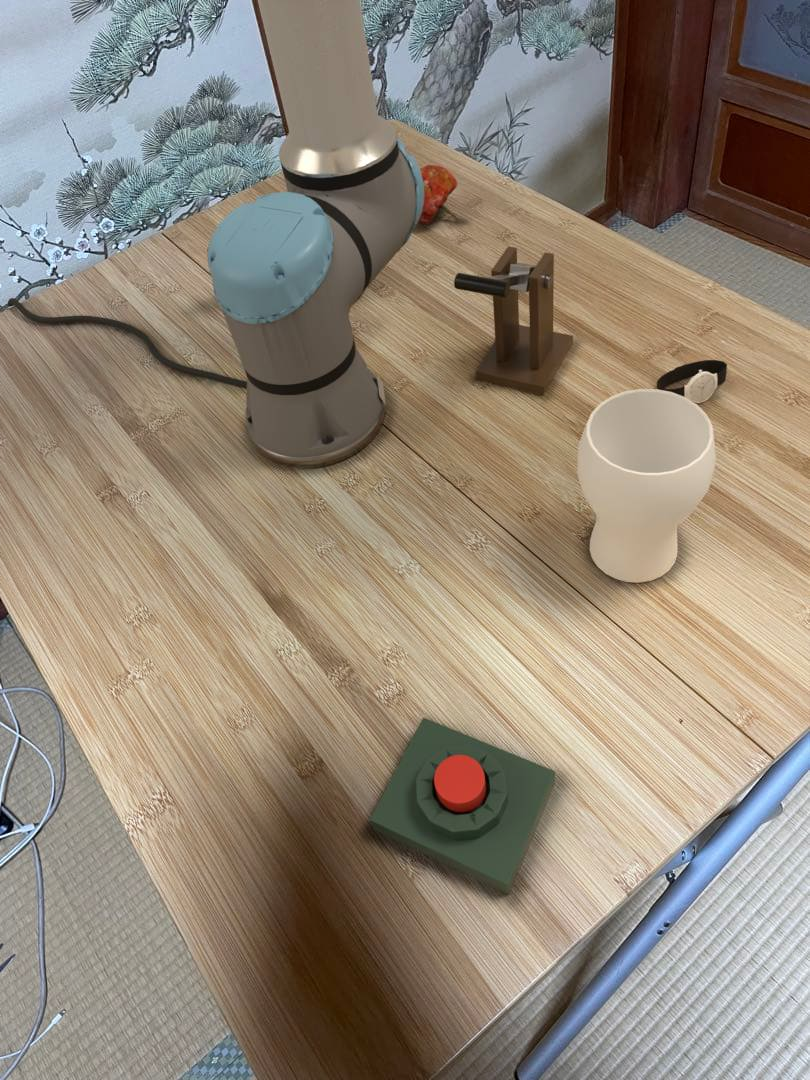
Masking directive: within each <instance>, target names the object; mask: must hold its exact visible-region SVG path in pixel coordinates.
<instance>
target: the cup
mask: <svg viewBox="0 0 810 1080" xmlns="http://www.w3.org/2000/svg"><path fill="white" fill-rule="evenodd" d="M715 444H716V443H715V435H714V426H713V424H712V422H711V420H710V418H709V416H708V414H707V413H706V412H705V411H704V409H702V408H701V407H700V406H699V405H698V404H697V403H696V402H693V401H691V400H689V399H688V398H686V397H683V396H681V395H678V394H676V393H673V392H669V391H664V390H658V389H657V388H638V389H631V390H625V391H623V392H620V393H617V394H614V395H612V396H609V397H608V398H607V399H605V400H604V401H602V402H600V403H599V404H598V405H597V406H596V407H595V408H594V409H593V411H592V412H591V413H590V415H589V417H588V419H587V421H586V424H585V426H584V429H583V432H582V435H581V437H580V439H579V443H578V447H577V449H578V450H577V464H576V465H577V466H576V476H577V479H578V482H579V484H580V488H581V490H582V493H583V495H584V499H585V501H586V503H587V505H588V506H589V507H590V508H591V510H592V512H593V513H594V514H595V518H596V521H595V522H594V526H593V529H592V532H591V535H590V539H589V553H590V556H591V559H592V561H593V562H594V564H595V565H596V567H597V568H598V569H599V570H601V571H602V572H603V573H604V574H605V575H607V576H609V577H611V578H613V579H615V580H619V581H621V582H626V583H637V584H638V583H639V584H640V583H647V582H651V581H654V580H656V579H659V578H661V577H663V576H664V575H666V574H667V573H668V572H669V571H670V570H671V569H672V567H673V566H674V564H675V563H676V560H677V557H678V544H679V543H678V527H679V525H680V524H681V523H682V522H683V521H685V520H686V519H688V518H689V517H690V516H691V515H692V514H693V512H694V511H695V510H696V508H697V507H698V506H699V504H700V503H701V501H702V500H703V499H704V497H705V496H706V495H707V494H708V492H709V491H710V490H709V489H710V487H711V483H712V480H713V478H714V477H713V476H714V472H715V469H716V465H717V464H716V463H717V455H716V445H715Z"/></svg>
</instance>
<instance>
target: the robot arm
mask: <svg viewBox="0 0 810 1080" xmlns="http://www.w3.org/2000/svg"><path fill="white" fill-rule="evenodd" d="M257 3H258V8H259V11H260V17H261V20H262V24H263V28H264V32H265V36H266V41H267V45H268V50H269V54H270V57H271V62H272V66H273V70H274V75H275V78H276V82H277V87H278V92H279V94H280V95H279V96H280V99H281V103H282V108H283V111H284V116H285V119H286V125H287V129H288V134H287V135H286V137H285V138H284V139H283V141H282V143H281V144H280V147H279V150H278V157H279V162H280V166H281V170H282V174H283V178H284V181H285V186H286V191H280V192H272V193H267V194H264V195H260V196H257V197H256V198H255V201H254V202H252V203H249V202H244V203H242V204H240V205H238V206H237V207H236V208H234V209H233V210H232V211H230V212H229V213H228V214H227V215H226V216H225V217H224V218H223V219H222V220H221V221H220V222H219V224H217V226H216V228H215V230H214V231H213V233H212V235H211V237H210V239H209V243H208V246H207V249H208V252H207V254H206V255H207V257H206V259H207V265H208V270H209V273H210V277H211V282H212V288H213V293H214V297H215V299H216V301H217V303H218V305H219V307H220V309H221V311H222V314H223V317H224V319H225V322H226V325H227V328H228V330H229V333H230V335H231V338H232V340H233V342H234V343H233V344H234V345H235V348H236V351H237V354H238V357H239V358H240V362H241V364H242V365H241V366H242V367H243V370H244V373H245V376H246V380H242V379H237V378H234V377H229V376H227V375H222V374H219V373H215V372H211V371H207V370H202V369H198V368H194V367H190V366H186V365H183V364H180V363H178V362H175V361H173V360H171V359H169V358H167V357H165V356H164V355H163V354H162V353H161V352H159V350H158V349H157V347H156V346H155V344H154V343H153V341H152V340H151V338H149V336H148V335H147V334H146V333H145V332H143V331H142V330H141V329H139V328H137V327H135V326H133V325H131V324H129V323H126V322H123V321H120V320H116V319H112V318H106V317H103V316H102V317H100V316H94V315H67V316H41V315H37V314H34V313H33V312H31V311H30V310H28V309H27V308H26V307H25V306H23V304H22V303H21V302H20V301H19V300H18V299H16V298H14V297H11V298H9V299H8V300H7V306H8V307H13V306H14V307H15V308H16V309H17V310H18V311H19V312H20V313H21V314H22V315H23V316H24V317H26V318H27V319H29V320H30V321H33V322H37V323H41V324H66V323H93V324H101V325H107V326H110V327H111V326H112V327H114V328H115V327H116V328H119V329H122V330H123V331H127V332H129V333H130V334H133V335H134V336H136V337H138V338H139V339H140V340H142V342H143V343H144V344H145V346H146V347H147V349H148V350H149V352H150V353H151V355H152V356H153V357H154V358H155V359H156V360H157V361H158V362H159V363H160V364H162V365H164V366H166V367H167V368H170V369H172V370H173V371H176V372H180V373H183V374H186V375H191V376H195V377H200V378H202V379H203V378H204V379H208V380H211V381H214V382H218V383H222V384H226V385H229V386H234V387H236V388H240V389H245V390H246V397H245V398H246V400H245V405H246V407H245V423H246V427H247V431H248V434H249V437H250V439H251V441H252V444H253V445H254V447H255V449H256V450H257V451H258V452H259V454H261V456H263V457H265V458H266V459H268V460H269V461H271V462H273V463H275V464H278V465H282V466H285V467H291V468H301V469H309V468H318V467H319V468H320V467H325V466H329V465H331V464H335V463H338V462H341V461H343V460H346V459H348V458H349V457H352V456H353V455H355V454H357V453H358V452H360V451H361V450H363V449H364V448H365V447H366V446H367V445H369V444H370V443H371V442H372V441H373V440H374V439H375V437H377V435H378V433H379V432H380V431H381V429H382V427H383V424H384V422H385V418H386V412H387V408H386V405H387V403H386V396H385V389H384V388H385V387H384V382H383V380H382V379H381V378H380V376H379V374H378V373H376V375H375V374H374V372H372V371H371V369H369V368H368V365H367V363H366V361H365V360H364V358H363V356H362V355H361V353H360V352H359V350H358V349H357V346H356V341H355V337H354V334H353V328H352V323H351V319H350V311H351V308H352V306H353V305H354V304H355V303H356V301H357V300H358V299H359V298H360V296H362V294H364V292H365V291H366V290H367V289H368V287H369V286H370V285H371V284H372V282H373V281H374V280H375V279H376V278H377V277H378V275H379V274H380V273H381V272H382V271H383V270H384V268H385V267H386V266H387V265H388V264H389V262H390V261H392V259H393V258H394V257H395V256H396V255H397V254H398V252H399V251H400V250H401V249H402V248H403V247H404V246H405V245H406V243H407V242H408V241H409V240H410V238H411V235H412V234H413V232H414V230H415V228H416V226H417V224H418V223H419V222H418V221H419V219H420V216H421V213H422V210H423V205H424V184H423V179H422V175H421V172H420V166H419V164H418V162H417V160H416V158H415V156H414V155H411V154H409V153H407V151H406V149H407V146H406V145H405V144H404V143H403V142H402V140H401V139H399V138H398V135H397V132H396V128H395V126H394V125H393V124H392V123H391V122H389V121H388V120H386V119H385V118H384V117H382V116H381V115H380V114H378V108H377V103H376V96H375V95H376V94H375V90H374V82H373V76H372V70H371V63H370V57H369V51H368V44H367V37H366V30H365V25H364V18H363V12H362V5H361V0H257Z"/></svg>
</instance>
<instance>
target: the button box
mask: <svg viewBox="0 0 810 1080" xmlns="http://www.w3.org/2000/svg"><path fill="white" fill-rule="evenodd" d="M454 755H465V756H469V757H471V758H473V759H474V760H476V761H477V762H478V763H479V764H480V766H481V767H482V769H483V771H484V775H485V782H486V793H485V796H484V799H483V800H482V802H481V803H480V804H479V805H478V806H477V807H476V808H474V809H473V810H470V811H467V812H455V811H452V810H449V809H448V808H446V807H445V806H444V805H443V804H442V803H441V802H440V800H439V798H438V795H437V792H436V788H435V784H434V775H435V772H436V769H437V767H438V766H439V765H440V763H441V762H442V761H444V760H445V759H447V758H448V757H451V756H454ZM555 785H556V771H555V770H554V769H551V768H548V767H545V766H543V765H541V764H538V763H536V762H534V761H531V760H528V759H527V758H524V757H521V756H519V755H516V754H514V753H512V752H509V751H506V750H504V749H501V748H499V747H497V746H494V745H492V744H490V743H487V742H484V741H482V740H480V739H477V738H475V737H472V736H470V735H468V734H465V733H463V732H460V731H458V730H455V729H453V728H451V727H448V726H446V725H443V724H441V723H439V722H436V721H433V720H431V719H428V718H426V717H422V719H421V721H420V723H419V725H418V726H417V729H416V730H415V732H414V734H413V736H412V738H411V739H410V742H409V743H408V746H407V748H406V750H405V751H404V753H403V755H402V756H401V759H400V761H399V763H398V765H397V767H396V769H395V771H394V772H393V774H392V776H391V778H390V780H389V782H388V784H387V786H386V787H385V790H384V791H383V794H382V795H381V797H380V799H379V801H378V803H377V804H376V807H375V809H374V811H373V812H372V814H371V816H370V818H369V822H370V824H371V826H372V829H373V831H375V832H377V833H379V834H381V835H383V836H385V837H387V838H389V839H392V840H394V841H396V842H398V843H400V844H402V845H403V846H406V847H408V848H410V849H413V850H415V851H417V852H419V853H421V854H423V855H425V856H426V857H430V858H431V859H434V860H436V861H438V862H439V863H441V864H444V865H446V866H448V867H450V868H451V869H452V868H453V869H455V870H457V872H458V871H459V872H461V873H463V874H465V875H467V876H469V877H471V878H473V879H475V880H477V881H479V882H481V883H483V884H485V885H488V886H490V887H492V888H494V889H496V890H498V891H500V892H503V893H504V894H507V895H510V894H511V891H512V889H513V887H514V885H515V882H516V880H517V877H518V874H519V872H520V869H521V867H522V865H523V862H524V860H525V857H526V855H527V852H528V851H529V847H530V845H531V843H532V841H533V838H534V835H535V834H536V831H537V829H538V826H539V823H540V821H541V818H542V816H543V813H544V811H545V809H546V806H547V804H548V802H549V799H550V797H551V794H552V791H553V790H554V787H555Z"/></svg>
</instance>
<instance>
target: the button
mask: <svg viewBox="0 0 810 1080" xmlns="http://www.w3.org/2000/svg"><path fill="white" fill-rule="evenodd" d="M434 784H435V788H436V792H437V795H438V798H439V800H440V802H441V803H442V804H443V805H444V806H445V807H446V808H448V809H449V810H452V811H455V812H467V811H470V810H473V809H474V808H476V807H477V806H478V805H479V804H480V803H481V802H482V800H483V799H484V796H485V793H486V782H485V775H484V771H483V769H482V767H481V766H480V764H479V763H478V762H477V761H476V760H474V759H473V758H471V757H469V756H465V755H454V756H451V757H448V758H447V759H445V760H444V761H442V762H441V763H440V765H439V766H438V767H437V769H436V772H435V775H434Z"/></svg>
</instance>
